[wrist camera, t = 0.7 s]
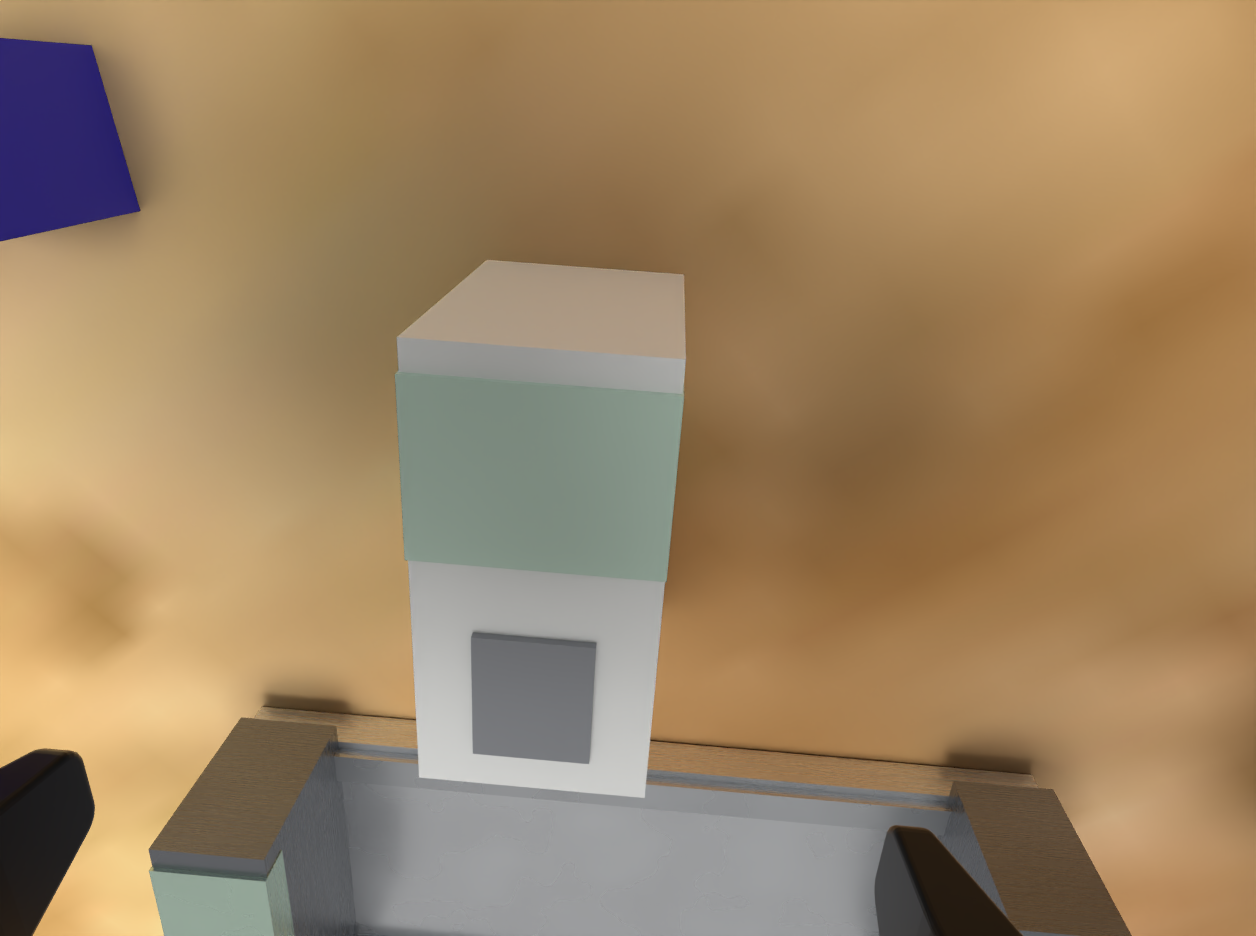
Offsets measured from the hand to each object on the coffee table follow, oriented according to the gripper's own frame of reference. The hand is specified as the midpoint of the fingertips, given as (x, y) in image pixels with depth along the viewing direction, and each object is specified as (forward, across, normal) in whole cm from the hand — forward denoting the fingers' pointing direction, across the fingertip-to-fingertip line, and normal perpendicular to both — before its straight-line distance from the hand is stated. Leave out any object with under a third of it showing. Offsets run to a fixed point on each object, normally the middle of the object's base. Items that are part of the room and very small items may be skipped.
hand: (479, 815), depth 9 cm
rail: (+10, -2, +12) cm, 16 cm away
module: (+10, 0, 0) cm, 10 cm away
